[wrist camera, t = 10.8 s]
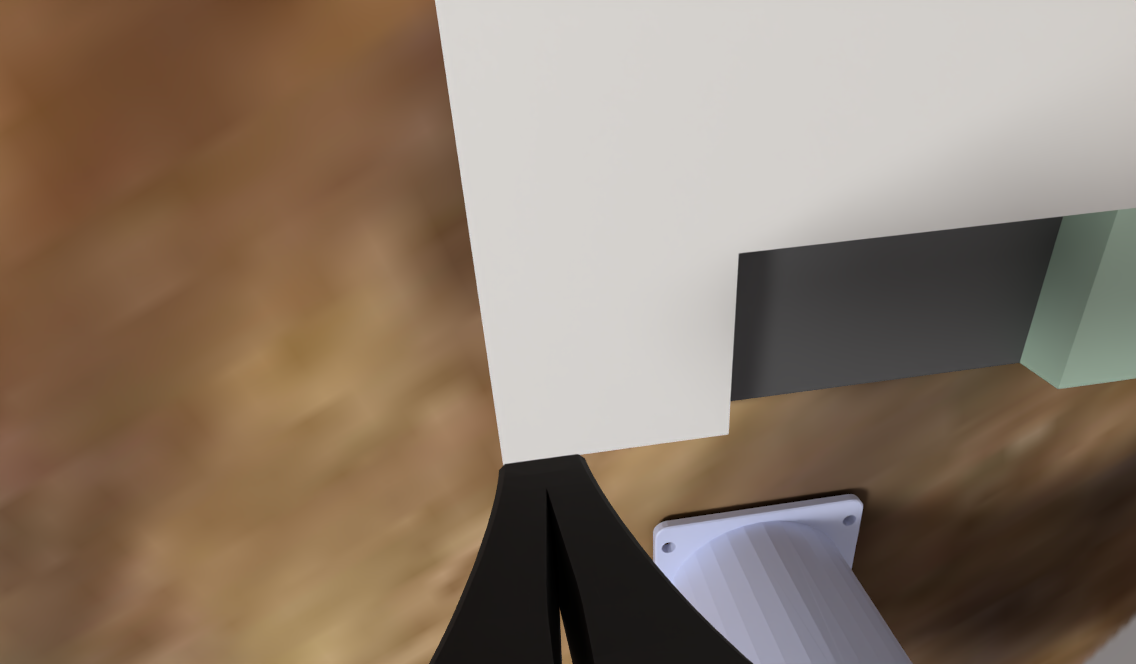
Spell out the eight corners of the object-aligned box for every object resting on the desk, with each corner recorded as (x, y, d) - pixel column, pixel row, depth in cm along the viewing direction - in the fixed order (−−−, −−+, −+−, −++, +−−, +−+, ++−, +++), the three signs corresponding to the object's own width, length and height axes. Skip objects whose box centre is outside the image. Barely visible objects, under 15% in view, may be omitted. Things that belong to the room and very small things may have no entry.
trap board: (1221, 330, 24) (1280, 358, 22) (500, 426, 22) (503, 464, 20) (1588, -480, 14) (1744, -546, 13) (374, -450, 12) (357, -524, 10)
